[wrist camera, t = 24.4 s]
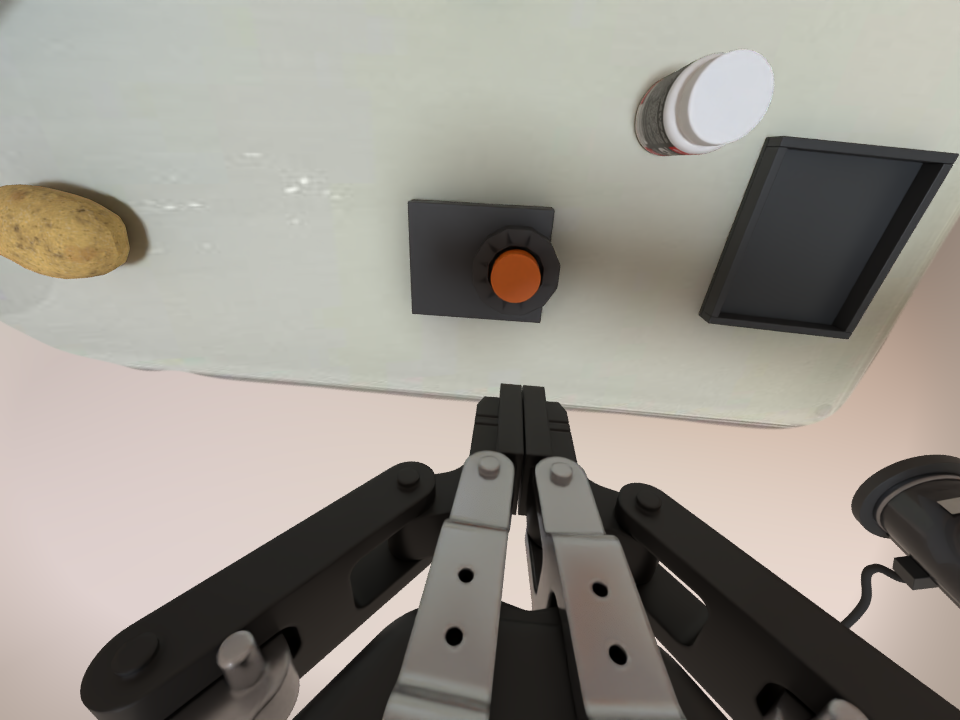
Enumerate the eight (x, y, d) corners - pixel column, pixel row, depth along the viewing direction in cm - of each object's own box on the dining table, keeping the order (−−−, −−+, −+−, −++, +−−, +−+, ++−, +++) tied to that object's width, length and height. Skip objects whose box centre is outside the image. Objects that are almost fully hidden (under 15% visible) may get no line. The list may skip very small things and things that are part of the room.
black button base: (562, 207, 30) (568, 213, 27) (547, 316, 34) (551, 332, 31) (412, 199, 30) (401, 203, 27) (416, 307, 34) (406, 321, 31)
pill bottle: (639, 165, 28) (684, 167, 21) (628, 92, 26) (674, 65, 19) (709, 141, 27) (783, 134, 20) (703, 62, 25) (783, 21, 18)
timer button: (542, 250, 28) (543, 255, 27) (536, 297, 30) (537, 304, 28) (493, 247, 28) (492, 252, 27) (490, 294, 30) (489, 301, 29)
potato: (161, 280, 35) (95, 302, 30) (38, 248, 35) (-53, 265, 29) (149, 203, 32) (72, 213, 27) (13, 167, 32) (-93, 169, 26)
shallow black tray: (831, 330, 32) (848, 339, 31) (698, 315, 33) (708, 323, 31) (931, 154, 26) (960, 153, 25) (766, 137, 27) (783, 135, 25)
